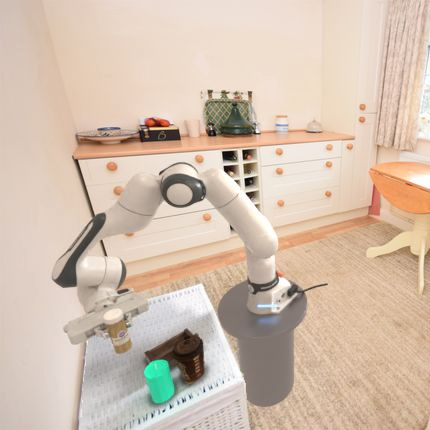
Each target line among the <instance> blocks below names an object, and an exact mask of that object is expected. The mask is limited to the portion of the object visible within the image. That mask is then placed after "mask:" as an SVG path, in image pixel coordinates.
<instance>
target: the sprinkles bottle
mask: <svg viewBox="0 0 430 430" xmlns="http://www.w3.org/2000/svg"><path fill="white" fill-rule="evenodd" d="M103 320H104V323H105V324H106V326H107V329H108V332H109V334H110V337H109V338H110V342H111V344H112V346H113V349H114V350H113V351H114V353H115V354H120V355H121V354H125V353H127V352H128V351H130V350H131V348H132V347H133V342H132V340H131V337H130V333H129V328H127V326H126V323H125V321H124V315H123V312H122V310H121V309H112V310H110V311H108V312H106V313H105V314H104V316H103Z"/></svg>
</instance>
